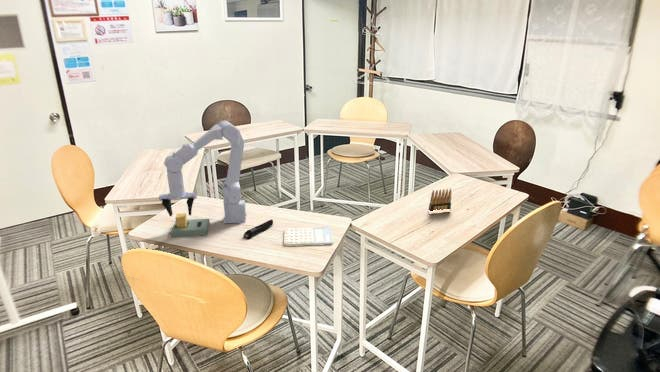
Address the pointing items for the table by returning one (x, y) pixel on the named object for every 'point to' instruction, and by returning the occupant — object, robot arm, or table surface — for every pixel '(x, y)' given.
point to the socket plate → (192, 228)
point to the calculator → (308, 236)
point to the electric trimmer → (257, 229)
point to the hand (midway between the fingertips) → (180, 214)
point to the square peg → (181, 220)
